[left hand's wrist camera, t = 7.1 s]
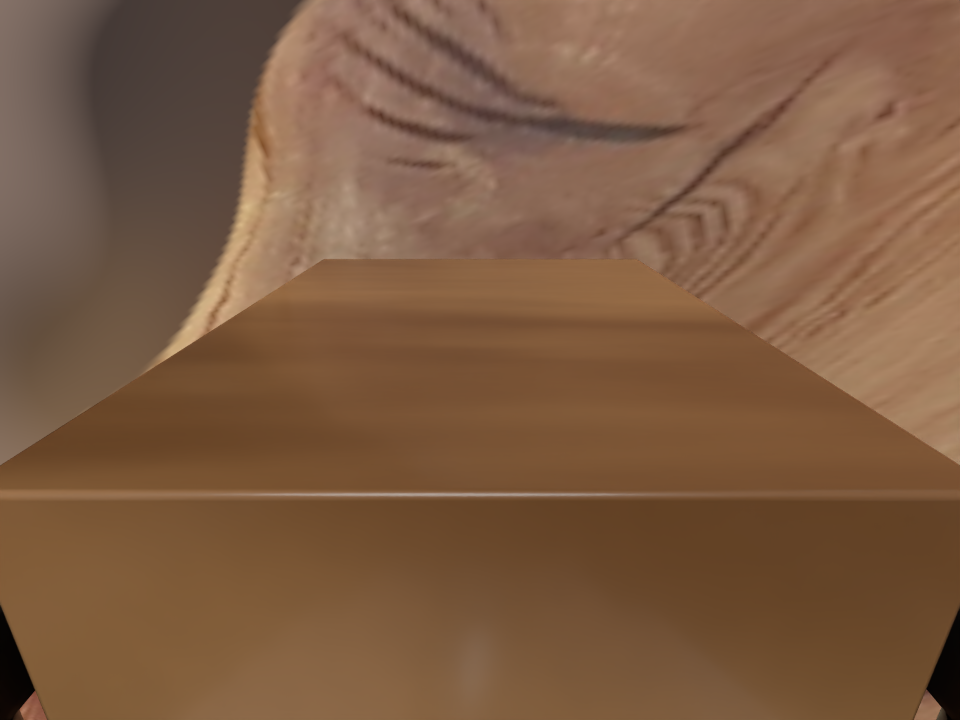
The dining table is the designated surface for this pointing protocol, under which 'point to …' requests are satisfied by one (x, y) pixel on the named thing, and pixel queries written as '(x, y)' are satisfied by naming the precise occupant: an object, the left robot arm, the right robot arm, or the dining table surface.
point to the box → (480, 515)
